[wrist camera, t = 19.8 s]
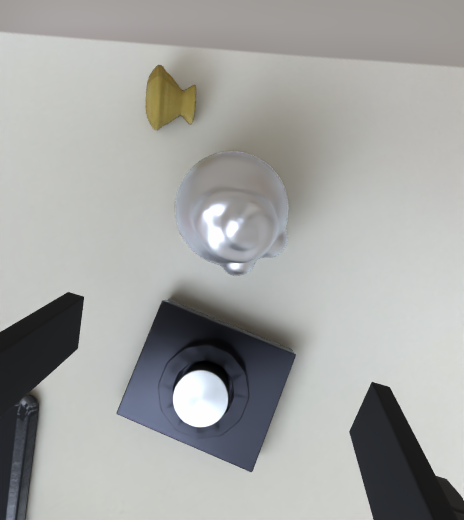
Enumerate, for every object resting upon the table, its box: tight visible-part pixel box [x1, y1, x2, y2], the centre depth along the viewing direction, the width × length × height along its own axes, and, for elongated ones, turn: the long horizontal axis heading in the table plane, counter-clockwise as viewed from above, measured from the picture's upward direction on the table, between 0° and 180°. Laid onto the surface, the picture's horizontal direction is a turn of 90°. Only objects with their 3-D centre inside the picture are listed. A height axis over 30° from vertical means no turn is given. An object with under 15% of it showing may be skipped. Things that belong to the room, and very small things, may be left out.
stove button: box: [173, 364, 230, 427], centre depth 24 cm, size 4×4×2 cm
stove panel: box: [117, 300, 296, 472], centre depth 27 cm, size 12×10×4 cm
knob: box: [146, 65, 196, 130], centre depth 28 cm, size 5×5×5 cm
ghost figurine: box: [175, 151, 289, 276], centre depth 25 cm, size 9×10×10 cm
